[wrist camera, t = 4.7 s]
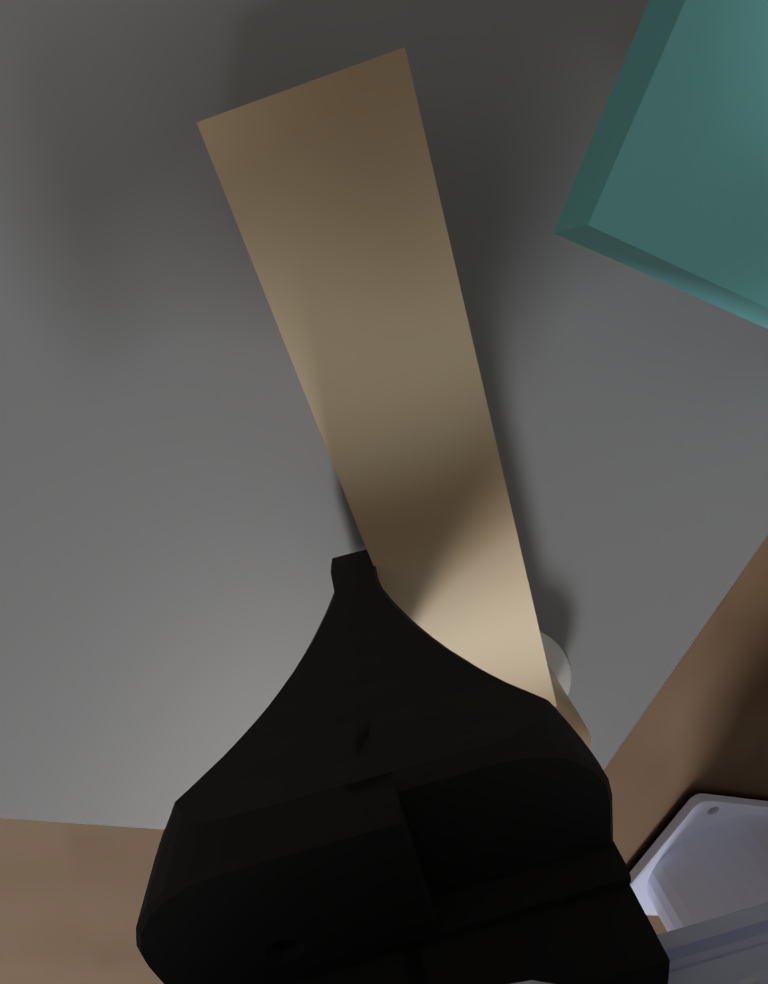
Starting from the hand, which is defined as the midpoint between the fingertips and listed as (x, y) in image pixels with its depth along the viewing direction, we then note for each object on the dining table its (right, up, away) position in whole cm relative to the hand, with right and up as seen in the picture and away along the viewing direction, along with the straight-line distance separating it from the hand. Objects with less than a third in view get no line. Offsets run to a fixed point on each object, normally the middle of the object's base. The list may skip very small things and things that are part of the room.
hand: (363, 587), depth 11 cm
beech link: (+2, +1, +1) cm, 2 cm away
